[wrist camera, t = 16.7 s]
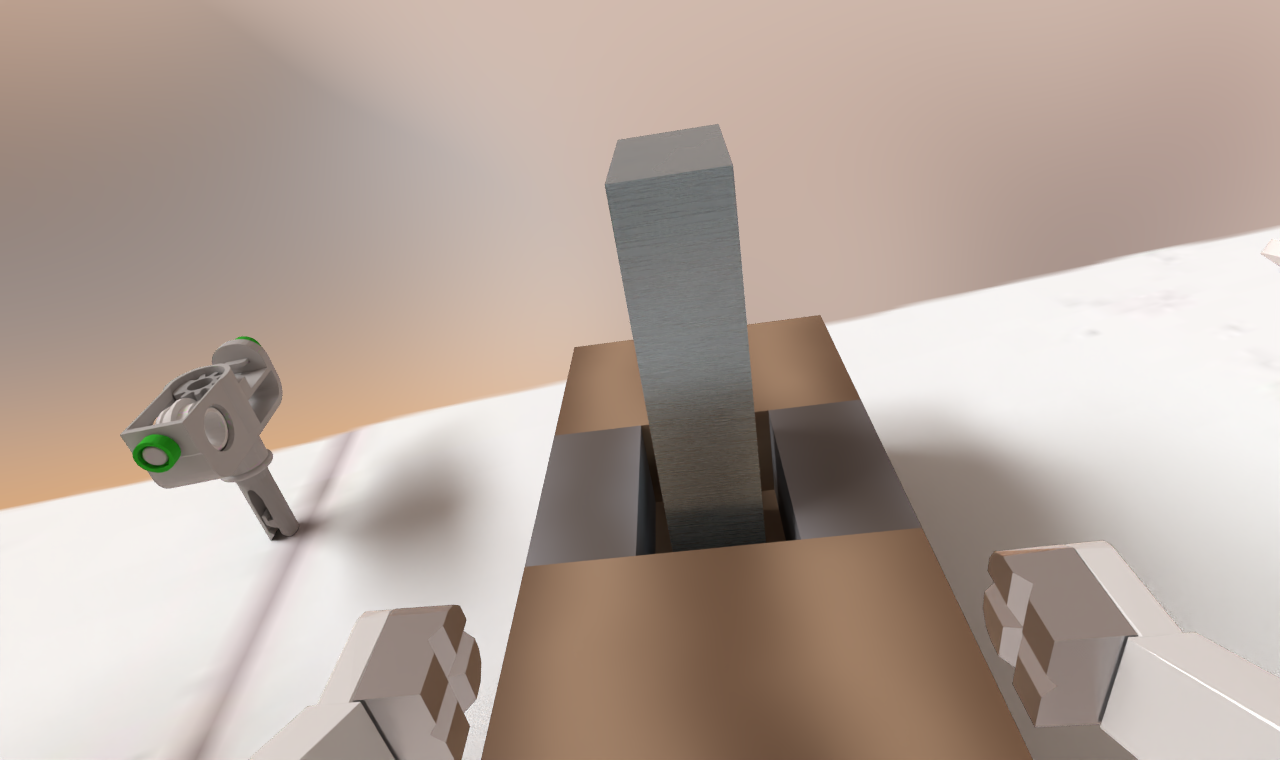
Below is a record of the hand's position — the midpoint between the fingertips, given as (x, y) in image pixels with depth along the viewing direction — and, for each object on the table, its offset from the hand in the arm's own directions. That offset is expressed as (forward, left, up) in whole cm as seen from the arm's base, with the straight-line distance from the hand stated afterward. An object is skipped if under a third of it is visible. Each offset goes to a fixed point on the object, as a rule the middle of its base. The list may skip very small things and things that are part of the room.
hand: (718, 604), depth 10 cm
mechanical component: (-24, +20, -15) cm, 35 cm away
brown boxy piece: (0, +11, -15) cm, 18 cm away
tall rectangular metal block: (0, +11, -11) cm, 15 cm away
